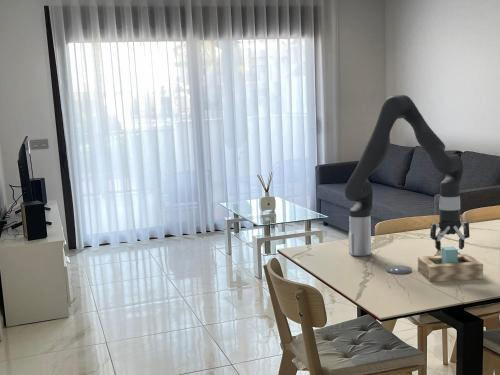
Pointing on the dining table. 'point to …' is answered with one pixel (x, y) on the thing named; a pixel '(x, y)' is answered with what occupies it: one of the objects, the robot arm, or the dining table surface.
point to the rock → (439, 253)
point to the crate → (450, 268)
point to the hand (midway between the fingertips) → (449, 249)
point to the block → (449, 255)
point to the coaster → (398, 269)
